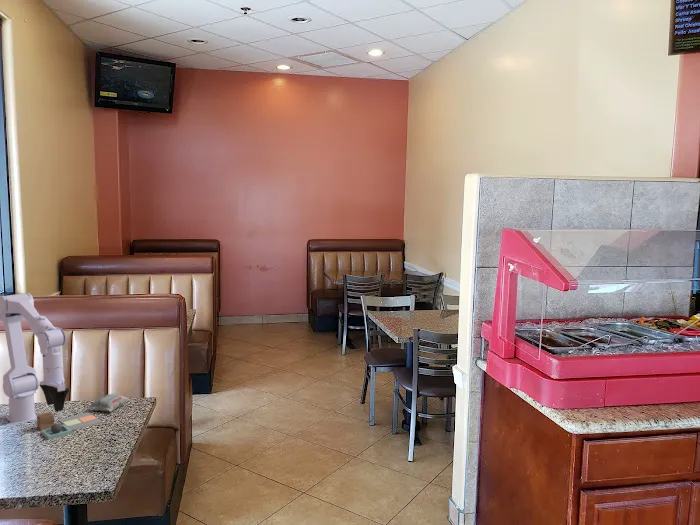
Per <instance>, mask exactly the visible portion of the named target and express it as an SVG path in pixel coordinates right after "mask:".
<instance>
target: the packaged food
mask: <svg viewBox="0 0 700 525" xmlns="http://www.w3.org/2000/svg"><path fill="white" fill-rule="evenodd" d="M130 399H131V398H130V397H128V396H127V397H126V396H123V395H121V394H119V393H110V394H109V393H108V394H106V395H104V396H102V397H100V398H98V399H96V400H94V401H93V402H91V405H90V408H89V409H90V411H91V412H92V411H95V412H97V411H98V412H99V411H100V412H110V413H111V412H114V410H117V409H118V408H119V407H121V406H123V405H125V403H126V402H128V401H129V400H130Z"/></svg>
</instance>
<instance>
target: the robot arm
mask: <svg viewBox="0 0 700 525" xmlns="http://www.w3.org/2000/svg"><path fill="white" fill-rule="evenodd" d="M34 302H35V301H34V297H33V295H32V294H31V293H29V292H25V293H17V294H10V295H9V294H8V295H0V321H2V322H3V326H4V332H5V339H6V346H7V351H8V358H9V362H10V363H9V364H10V368H9V369H8V371H6V373H5V374H4V375H3V377H2V389H3V390H2V391H3V393H4V394H5V396H6V397H7V398H8V412H9V415H6V419H7V420H8V421H9V422H10V423H11V424H12V425H17V424H20V423H24V422H29V421H33V420H34V421H35V420H37V415H38V414H36V406H35V394H36V393H37V390H38V389H39V388H41V390H42V393H43V395H44V399H45V401H46V404H47V406H52V405H53V409H54V410H55V412H60V411H63V410H64V406H65V401H66V398H67V396H68V394H69V392H70V388H69V387H66V385H65V381H66V380H65V376H64V375H65V374H64V357H63V356H64V355H63V346H65V345H66V341H67V336H66V333H65V331H64V330H63V328H62V327H58V326H54V325H53V323H51V321H50V320H49V319H48V318H47V317H46V316H44V315H40V314H39V312H38V310H37V309H36V308H35V303H34ZM23 318H24V319H25V320H26V321H27V322H28V323H29V324H28V327H29V329H30V330H31V331H32V333H33V334H34V336H36V338H37V342H38V346H39V352H40V354H41V355H42V356H41V357H42V370H43V371H42V372H43V373H42V374H43V380H42V381H40V378H39V376H38V374H37V373H38V372H37V369H36V368H34V367H32V366H30V365H28V361H27V355H26V353H27V352H26V349H25V348H26V347H25V342H24V341H25V340H24V336H23V331H22V323H21V322H22V320H23Z"/></svg>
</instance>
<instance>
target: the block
mask: <svg viewBox="0 0 700 525" xmlns="http://www.w3.org/2000/svg"><path fill="white" fill-rule="evenodd" d="M36 415H37V419H36V423H37V428H38V430H40V431H41V430H44V429H48V428H51V427H52V425H54V424H55V414H53V413H52V412H51V411H48V412H43V413H40V414H36Z"/></svg>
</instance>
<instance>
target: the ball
mask: <svg viewBox="0 0 700 525" xmlns="http://www.w3.org/2000/svg"><path fill="white" fill-rule="evenodd" d="M61 425H62V424H60V423H54V425H52V427H51V432H52V433H54V434H57V433H59V432H60V431H61V430H62V426H61Z"/></svg>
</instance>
